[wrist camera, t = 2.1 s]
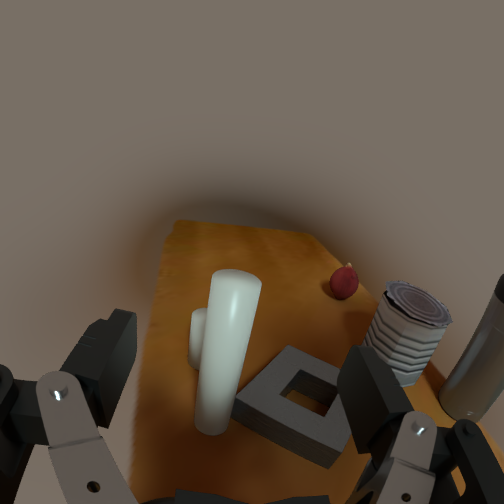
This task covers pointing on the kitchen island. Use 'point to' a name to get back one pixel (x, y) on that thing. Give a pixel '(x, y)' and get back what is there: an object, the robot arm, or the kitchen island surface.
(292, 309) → the kitchen island surface
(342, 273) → the onion
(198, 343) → the short pin
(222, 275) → the long pin
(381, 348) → the can
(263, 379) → the hole plate
